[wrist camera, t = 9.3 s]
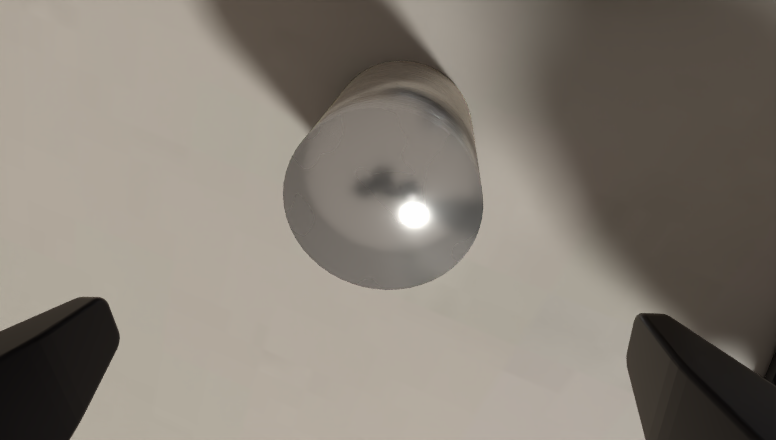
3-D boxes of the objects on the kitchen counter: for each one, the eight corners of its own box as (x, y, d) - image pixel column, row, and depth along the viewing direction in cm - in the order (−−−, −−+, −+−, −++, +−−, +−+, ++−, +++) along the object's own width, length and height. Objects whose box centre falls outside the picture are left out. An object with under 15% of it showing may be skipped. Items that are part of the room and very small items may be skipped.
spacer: (470, 197, 19) (479, 291, 13) (339, 197, 19) (297, 287, 14) (474, 57, 16) (487, 105, 11) (324, 63, 17) (268, 110, 12)
